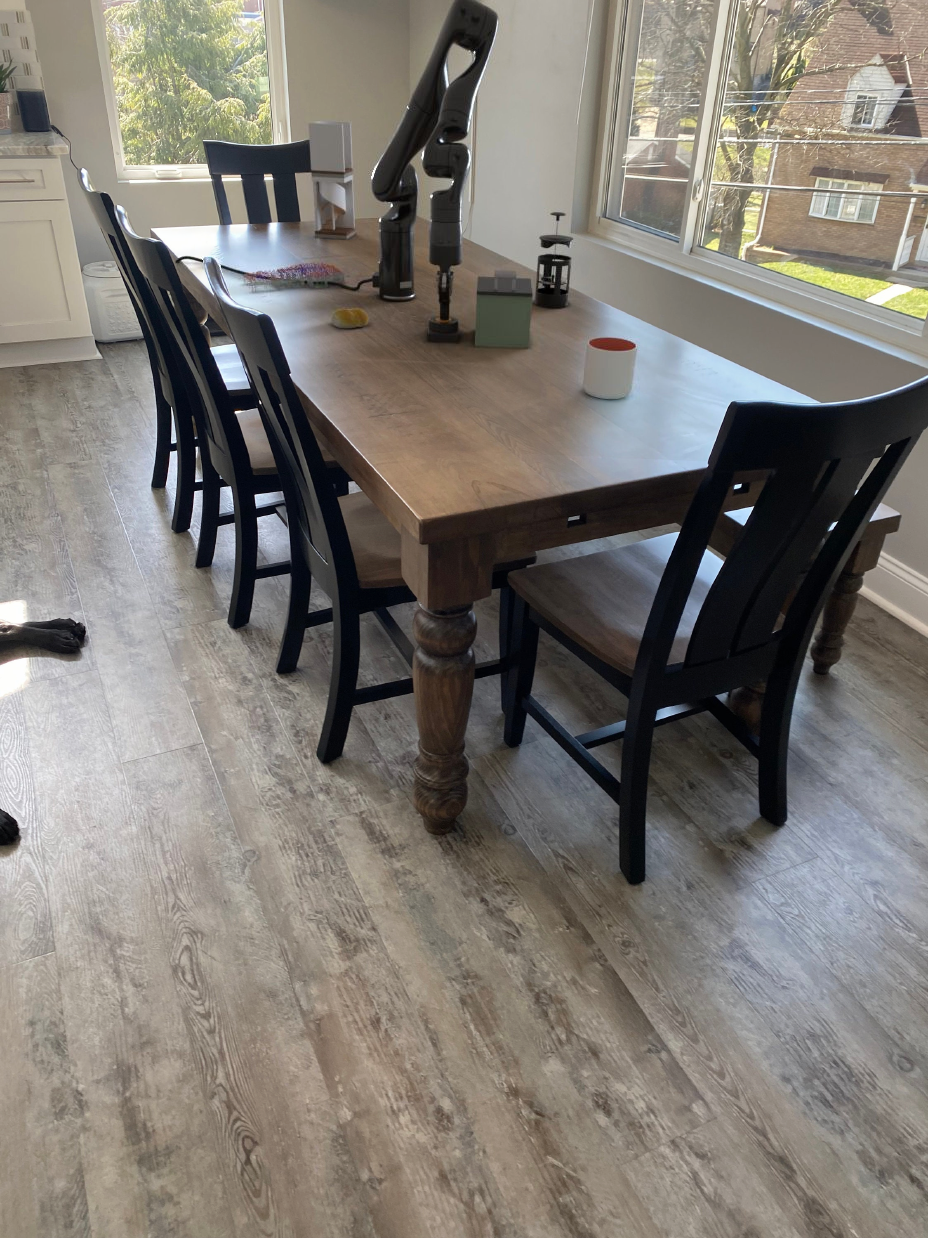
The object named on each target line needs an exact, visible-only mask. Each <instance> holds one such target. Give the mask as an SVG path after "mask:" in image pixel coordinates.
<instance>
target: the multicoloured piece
mask: <svg viewBox="0 0 928 1238" xmlns="http://www.w3.org/2000/svg"><path fill="white" fill-rule="evenodd" d="M247 273H248V274H249V275H248V274H247V275H246V274H244V275H243V281H244V284H246V286H247V287H250V286H251V287H254V288H251V292H252V293H255V292H256V293H264V292H266V293H267V292H274V291H275V290H276V292H278V291H281V289H284V286H283V285H286V286H285V289H296V288H297V289H298V288H301V287H302V288H306V285H307V288H308V287H310V288H311V289H314V287H315V288H317V289H320V288H328V285H327V283H328V281H329V282H337V283H340V282H341V284H345V281H344V280H345V278H350V277H351V276H350V274H346V273H345V272H343V271H341V270H340V269H339V268H338V267H335V266H334V265H330V264H326V263H322V262H318V263H314V262H310V263H309V264H308V263H306V264H304V263H300V264H298V265H296V264H294V265H291V266H289V267H288V266H286V267H284V268H283V267H282V268H277V269H276V271H275V269H273V270H272V271H271V269H269V270H268V271H267V270H264V271H262V270H258V271H255V272H254V271H253V272H247ZM250 273H251V274H250ZM251 275H252V276H253V277H252V276H251ZM254 275H255V276H254ZM257 276H259V277H260V278H259V277H257ZM262 276H269V277H267V278H268V280H266V278H264V279H262V278H263V277H262ZM255 277H257V278H255ZM261 277H262V278H261ZM270 277H271V279H269V278H270ZM278 278H281V280H279V279H278ZM284 278H285V279H286V280H284ZM274 279H275V280H274ZM276 279H277V280H276ZM292 279H294V280H295V283H294V280H293V281H291V280H292ZM246 280H247V281H248V282H247V283H246ZM257 280H259V281H257ZM298 281H300V283H298ZM304 281H307V284H306V285H305V283H304ZM319 281H325V284H324V285H323V286H322V285H320V286H319V284H317V283H316V284H314V282H319ZM326 281H327V283H326ZM292 282H293V283H292ZM310 282H311V283H310ZM309 283H310V284H309ZM268 284H269V288H271V289H268V286H267V285H268ZM254 285H256V286H264V289H263V290H260V289H257V288H256V286H254ZM298 285H299V286H298ZM273 286H274V287H275V288H274V289H273ZM281 286H282V287H281ZM265 288H266V289H265Z"/></svg>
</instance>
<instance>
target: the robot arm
mask: <svg viewBox="0 0 928 1238" xmlns="http://www.w3.org/2000/svg"><path fill="white" fill-rule="evenodd" d="M498 29H499V15H498V13H497V12H496V11H495V10H494V9H493V8H491V7H490V6H487V5H486V4H484V3H482V2H480V1H478V0H453V1H451V4H450V6H449V8H448V10H447V12H446V15H445V18H444V20H443V22H442V25H441V28H440V30H439V33H438V35H437V36H438V37H437V39H436V41H435V43H434V46H433V48H432V51H431V54H430V56H429V59H428V61H427V63H426V65H425V67H424V70H423V71H422V74H421V75H420V77H419V79H418V81H417V83H416V86H415V88H414V90H413V92H412V94H411V97H410V98H409V101H408V103H407V105H406V107H405V110H404V113H403V115H402V117H401V119H400V122H399V123H398V125H397V127H396V130H395V132H394V133H393V136H392V137H391V140H390V141H389V143H388V144H387V147H386V149H385V151H384V152H383V154H382V155H381V157H380V158H379V160H378V162H377V163H376V165H375V167H374V170H373V172H372V176H371V182H370V185H371V187H370V188H371V193H372V195H373V196H374V198H375V199H376V200H377V201H378V202H381V203H390V204H391V205H390V207H389V208H388V210H387V211H386V212H384V214H383V215H381V217H380V218H379V220H378V235H379V236H378V237H379V239H378V240H379V260H378V271H374V272H373V274H372V276H371V277H370V278H364V279H362V280H360V281H359V282H357V285H356V287H355V286H349V285H346V284H345V283H342V282H339V283H337V282H334V281H331V282H330V281H328V283H327V281H326V283H327V286H335V287H340V288H342V289H346V290H350V291H354V292H355V291H359V290H360V289H361V286H362V285H363V284H366V283H371V284H372V288H376V289H378V290H379V291H378V292H379V293H378V295H379V296H378V297H379V299H380V300H386V301H392V302H393V301H394V302H405V301H410V300H413V299H415V223H416V221H417V219H418V218H417V217H418V206H419V205H418V203H419V177H418V173H417V170H416V168H415V166H414V165H413V164H412V163H411V162H412V160H413V159H414V158H415V157H416V156H417V155H418V154H419V153H420V152H421V151H422V150H423V151H422V156H421V165H422V169H423V171H424V174H426V176H427V177H429V178H432V179H433V178H434V179H449V180H452V181H451V182H452V183H451V185H450V187H448V188H444V189H438V190H435V191H433V192H432V193H431V194H430V210H429V211H430V220H429V228H428V232H429V233H428V262H429V263H430V264H431V265H433V266H438V267H439V270H437V271H436V275H435V279H436V282H437V283H436V284H437V288H436V289H437V291H436V292H437V294H438V303H439V316H440V319H441V320H449V316H450V311H451V310H450V309H451V308H450V306H451V305H450V304H451V301H452V298H451V297H452V294H453V288H454V285H453V284H454V279H455V271H454V270H452V267H456V266H459V265H461V264H462V262H463V225H462V223H463V222H462V219H463V217H462V215H463V198H464V190H465V189H466V188H465V187H466V183H467V180H468V176H469V173H470V169H471V166H472V153H471V150H470V148H469V147H468V145H466V144H465V143H463V142H460V141H463V140H465V139H466V138H467V137H468V135H469V132H470V128H471V124H472V118H473V114H474V108H475V104H476V99H477V95H478V92H479V89H480V86H481V83H482V81H483V78H484V75H485V72H486V69H487V66H488V63H489V59H490V57H491V53H492V51H493V48H494V45H495V42H496V38H497V33H498ZM453 45H456V46H457V47H459V48H461V49H463V50H465V51H467V52H470V53H471V54H473V58H472V61H471V62H470V64H469V65H468V67H466V68H465V69H464V71H462V72H461V73H460V74H459V75H458V76H457V77H456V78H454V79H453V80H452V81H450V73H449V70H450V69H449V56H450V51H451V49H452V47H453ZM202 259H203V258H199V257H195V256H192V255H183V256H180V257H178V258H177V259H176V260H175V263H176V264H177V263H178V264H179V263H180V262H181V261H184V260H191V261H195V262H198V263H202V264H204V263H203V260H204V259H203V260H202ZM219 264H220V263H219ZM220 265H221V268H220V269H223V270H226V271H229V272H232V273H234V274H239V275H241V276H244V274H246V275H247V274H248V273H250V274H251V273H252V272H247V271H244V270H240V269H236V268H233V267H230V266H227V265H224V264H220ZM248 275H249V274H248ZM251 276H252V275H251ZM254 276H255V275H254ZM252 277H253V276H252ZM257 277H259V276H257ZM257 277H255V278H254V277H253V278H254V279H257ZM262 277H263V278H262ZM262 277H261V278H262V279H264V278H266V279H264V280H265V281H266V280H267V281H268V278H267V277H270V276H265V275H263V276H262ZM271 277H272V276H271ZM271 277H270V278H269V279H271ZM258 279H260V277H259V278H258ZM262 279H261V280H262ZM278 279H279V280H281V278H280V277H278ZM291 279H292V278H291ZM274 280H275V279H274ZM276 280H277V279H276ZM284 280H286V278H284ZM293 280H294V279H292V280H291V281H293ZM318 281H319V282H314V285H316V283H317V285H321V286H325V285H324V284H325V281H322V280H321V281H320V280H318ZM294 283H295V280H294ZM298 283H299V284H300V281H298ZM304 283H305V284H306V285H308V284H307V281H304ZM304 283H303V284H304ZM310 283H311V282H310ZM310 283H309V285H310ZM292 284H293V282H292Z"/></svg>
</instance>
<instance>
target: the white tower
mask: <svg viewBox="0 0 928 1238" xmlns="http://www.w3.org/2000/svg"><path fill="white" fill-rule="evenodd" d="M308 139H309V154H310V172H311V181H312V189H313V190H312V192H313V207H314V222H315V225H314V226H315V230H314V238H318V239H332V240H333V239H334V240H348V239H350V238H351V237H353V236H354V235H355V234H356V225H355V222H356V221H355V202H354V201H355V198H354V197H355V196H354V195H355V194H354V173H353V172H354V169H353V167H354V166H353V165H354V164H353V141H352V122H351V121H336V120H335V121H332V120H316V121H311V122H308Z"/></svg>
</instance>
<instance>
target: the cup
mask: <svg viewBox="0 0 928 1238" xmlns="http://www.w3.org/2000/svg"><path fill="white" fill-rule="evenodd" d="M637 353H638V345H637V343H636V342H634V341H631V340H628V339H624V338H619V337H612V336H611V337H610V336H609V337H608V336H607V337H606V336H605V337H604V336H602V337H594V338H591V339H589V340H587V342H586V350H585V358H584V359H585V360H584V369H583V379H582V389H583V391H584V392H585V394H588V395H589V396H591V397H594V398H597V399H602V400H619V399H623V398H625V397H627V396H629V395H630V393H631V392H632V389H633V384H634V383H633V382H634V381H633V380H634V374H635V367H636V361H637Z"/></svg>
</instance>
